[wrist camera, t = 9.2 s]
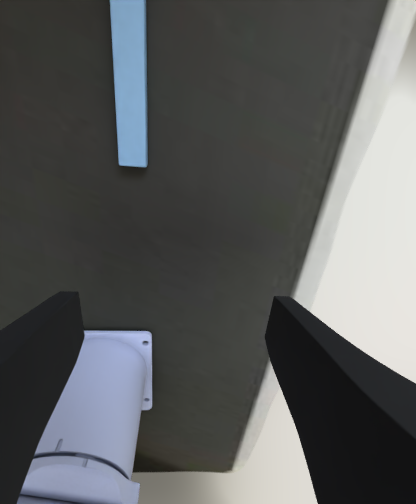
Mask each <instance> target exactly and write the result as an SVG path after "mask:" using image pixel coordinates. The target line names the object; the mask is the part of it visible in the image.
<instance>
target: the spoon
mask: <svg viewBox="0 0 416 504" xmlns="http://www.w3.org/2000/svg"><path fill="white" fill-rule="evenodd" d="M110 14H111V32H112V50H113V68H114V86H115V104H116V123H117V141H118V159H119V165H120V166H133V167H147V165H148V136H147V45H146V0H110Z"/></svg>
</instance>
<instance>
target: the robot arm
mask: <svg viewBox="0 0 416 504" xmlns="http://www.w3.org/2000/svg"><path fill="white" fill-rule="evenodd" d="M265 340H266V345H267V349H268V353H269V357H270V361H271V364H272V366H273V369H274V372H275V374H276V377H277V379H278V382H279V385H280V387H281V390H282V392H283V395H284V397H285V400H286V402H287V405H288V408H289V410H290V413H291V415H292V418H293V420H294V423H295V426H296V429H297V432H298V434H299V438H300V441H301V445H302V448H303V452H304V455H305V459H306V462H307V465H308V469H309V473H310V476H311V480H312V484H313V488H314V491H315V495H316V499H317V502H318V504H416V384H415V383H414V382H412V381H410V380H408V379H407V378H405V377H403V376H401V375H400V374H398V373H396V372H394V371H393V370H391V369H390V368H388V367H386V366H385V365H383V364H382V363H380V362H378V361H377V360H375V359H374V358H372V357H370V356H369V355H367V354H366V353H364V352H363V351H361V350H360V349H359V348H357V347H356V346H354V345H353V344H351V343H350V342H348V341H347V340H346V339H344V338H343V337H342V336H340V335H339V334H337V333H336V332H335V331H334V330H332V329H331V328H329V327H328V326H327V325H326V324H324V323H323V322H322V321H321V320H319V319H318V318H317V317H316V316H314V315H313V314H312V313H310V312H309V311H308V310H307V309H305V308H304V307H303V306H302V305H300V304H299V303H298V302H296V301H295V300H294V299H292V298H291V297H286V296H274V299H273V303H272V308H271V312H270V316H269V321H268V325H267V329H266V334H265ZM144 341H147V342H144ZM151 408H152V334H151V333H150V332H148V331H84V327H83V320H82V314H81V307H80V300H79V293H78V292H61V291H60V292H59V293H57V294H55V295H54V296H52V297H50V298H49V299H47V300H46V301H44V302H43V303H41V304H40V305H38V306H37V307H35V308H34V309H32V310H31V311H29V312H28V313H26V314H25V315H23V316H22V317H20V318H19V319H17V320H16V321H14V322H13V323H11V324H10V325H8V326H7V327H5V328H3V329H2V330H0V504H138V498H139V490H140V483H138V482H133V481H131V477H132V470H133V464H134V457H135V450H136V443H137V436H138V429H139V422H140V415H141V410H149V409H151Z"/></svg>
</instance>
